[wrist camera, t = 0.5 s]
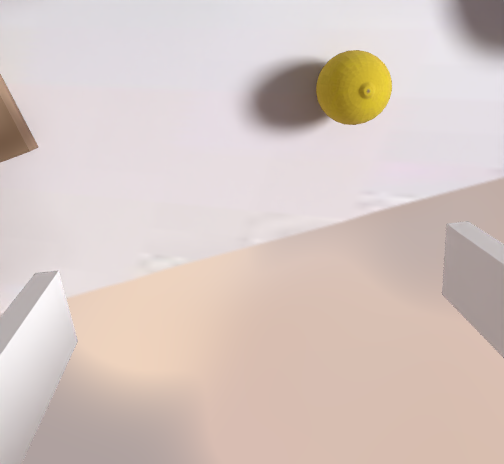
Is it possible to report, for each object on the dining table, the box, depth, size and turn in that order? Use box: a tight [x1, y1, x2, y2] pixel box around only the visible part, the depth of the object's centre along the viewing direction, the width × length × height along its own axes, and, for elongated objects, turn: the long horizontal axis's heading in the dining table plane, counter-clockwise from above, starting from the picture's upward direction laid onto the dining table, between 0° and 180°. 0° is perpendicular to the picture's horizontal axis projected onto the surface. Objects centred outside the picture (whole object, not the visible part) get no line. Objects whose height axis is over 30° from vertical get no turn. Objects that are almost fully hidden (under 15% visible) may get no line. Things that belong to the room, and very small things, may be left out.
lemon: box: [316, 50, 392, 125], centre depth 36 cm, size 6×6×8 cm
